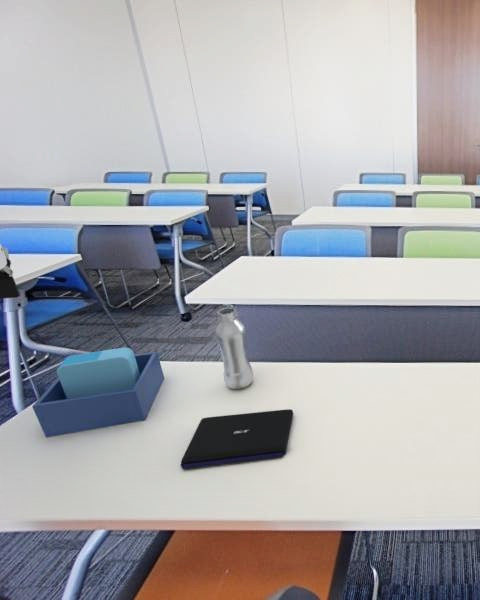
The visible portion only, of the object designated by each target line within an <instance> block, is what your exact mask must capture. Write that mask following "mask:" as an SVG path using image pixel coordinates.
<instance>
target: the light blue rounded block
mask: <svg viewBox="0 0 480 600" xmlns="http://www.w3.org/2000/svg"><path fill="white" fill-rule="evenodd" d="M134 355H135V353H134V351H133V350H132V349H131V348H129V347H118V348H113V349H105V350H98V351H92V352H85V353H78V354H72V355H69V356H66V357H65V358H64V359H63V360H62V362H61V363H60V365H59V366H58V368H57V370H56V375H57V378H58V377H59V380H60V382H61V385H62V387H63V390H64V392H65V395H66V397H67V399H72V398H79V397H86V396H92V395H99V394H106V393H113V392H120V391H126V390H133V388H134V386H135V384H136V383H137V381H138V379H139V377H140V372H139V369H138V366H137V362H136V359H135V356H134Z"/></svg>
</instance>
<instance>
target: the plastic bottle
mask: <svg viewBox="0 0 480 600" xmlns="http://www.w3.org/2000/svg"><path fill="white" fill-rule="evenodd" d="M237 318H238V315H237V311H236V309H235V308H234V307H225V308H221V309H219V310H217V319H218V321H219V322H218V324H217V325H216V328H215V331H214V336H215V339H216V341H217V344H218V347H219V349H220V353H221V357H222V365H223V380H224V383H225V385H226V386H227V387H229V388H230V389H234V390H240V389H243V388H246V387H247V386H249V385H251V383H252V382H253V380H254V370H253V367H252V365H251V364H250V360H249V356H248V353H247V352H248V350H247V344H246V343H247V342H246V341H247V339H246V338H247V337H246V335H247V334H246V332H247V331H246V327H245V325H244V324H243V323H242V322H241V321H240V320H239V319H237Z"/></svg>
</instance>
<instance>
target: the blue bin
mask: <svg viewBox="0 0 480 600" xmlns="http://www.w3.org/2000/svg"><path fill="white" fill-rule="evenodd" d="M134 356H135V359H136V362H137V366H138V369H139V372H140V377H139V379H138V381H137V383H136V384H135V386H134V388H133V390H126V391H120V392H113V393H106V394H99V395H92V396H86V397H79V398H72V399H67V397H66V395H65V392H64V390H63V387H62V385H61V382H60V380H59V377H58V376H57V377H56V379H55V380H54V381H53V382H52V383H51V384H50V386H49V387H48V388H47V389H46V390H45V391H44V393H42V394H41V396H40V397H39V398H38V399H37V400H36V401H35V403H34V404H33V405H32V410H33V412H34V414H35V416H36V419H37V421H38V423H39V425H40V427H41V429H42V432H43V434H44V436H45V438H49V437H56V436H61V435H67V434H73V433H79V432H85V431H90V430H96V429H102V428H107V427H115V426H119V425H124V424H125V425H126V424H131V423H138V422H143V421H146V419H147V417H148V415H149V413H150V411H151V408H152V406H153V404H154V401H155V400H156V397H157V395H158V393H159V391H160V389H161V387H162V384H163V382H164V380H165V375H164V371H163V368H162V367H163V366H162V365H161V360H160V357H159V354H158V351H154V352H153V351H152V352H145V353H137V354H134Z"/></svg>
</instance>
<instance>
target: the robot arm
mask: <svg viewBox="0 0 480 600" xmlns="http://www.w3.org/2000/svg"><path fill="white" fill-rule="evenodd" d="M9 254H10V253H9V249H8V247H5V246H2V244H1V243H0V300H1V299H2V300H3V299H14V298H19V297H20V296H21V293H20V291H19V289H18V286H17V283H16V281H15V278H14V276H13V275H14V270H13V269H12V268H11V264H12V261H11V260H10V257H9V256H10V255H9Z"/></svg>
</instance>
